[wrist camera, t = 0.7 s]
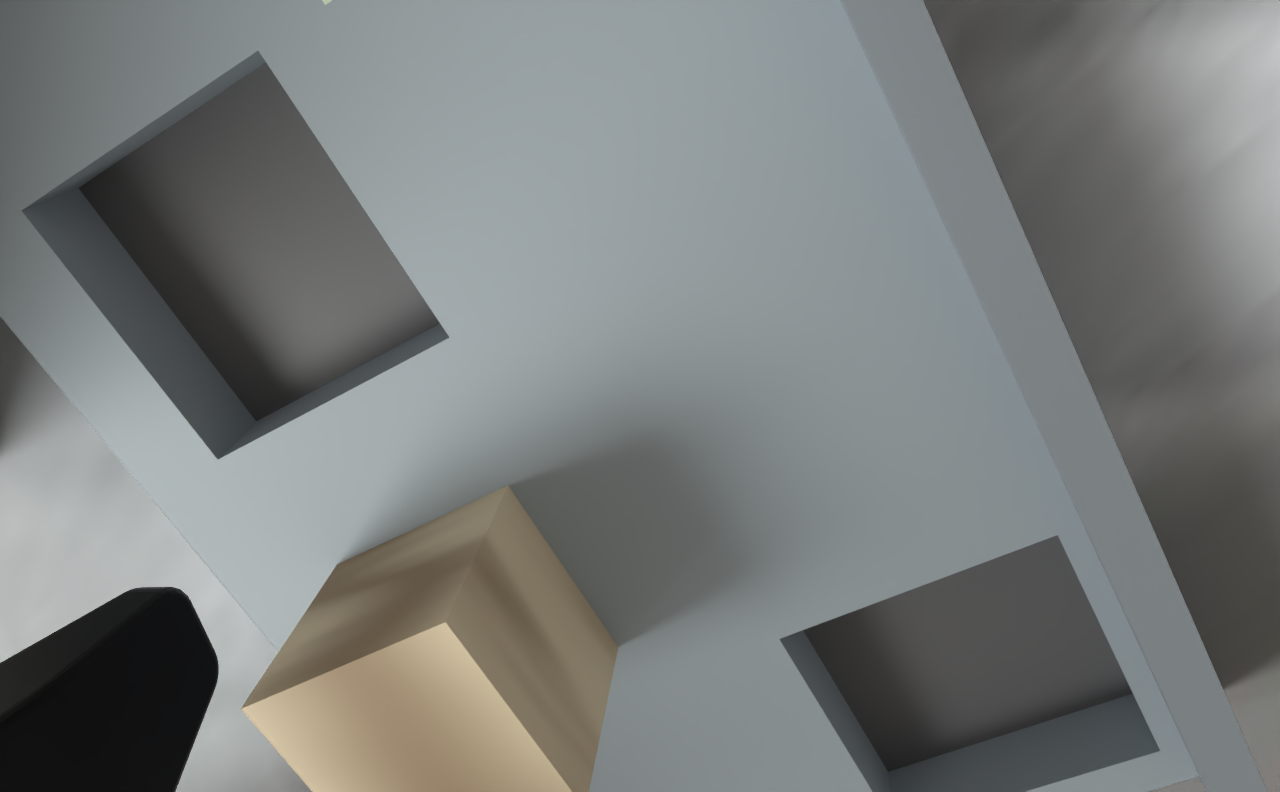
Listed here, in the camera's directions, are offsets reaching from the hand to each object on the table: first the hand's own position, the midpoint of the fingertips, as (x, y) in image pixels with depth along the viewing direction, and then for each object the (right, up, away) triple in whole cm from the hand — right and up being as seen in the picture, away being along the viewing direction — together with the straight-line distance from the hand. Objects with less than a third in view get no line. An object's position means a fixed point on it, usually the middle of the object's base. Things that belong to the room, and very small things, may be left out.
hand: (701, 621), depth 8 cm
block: (-4, -3, +14) cm, 15 cm away
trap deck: (-2, +2, +14) cm, 14 cm away
